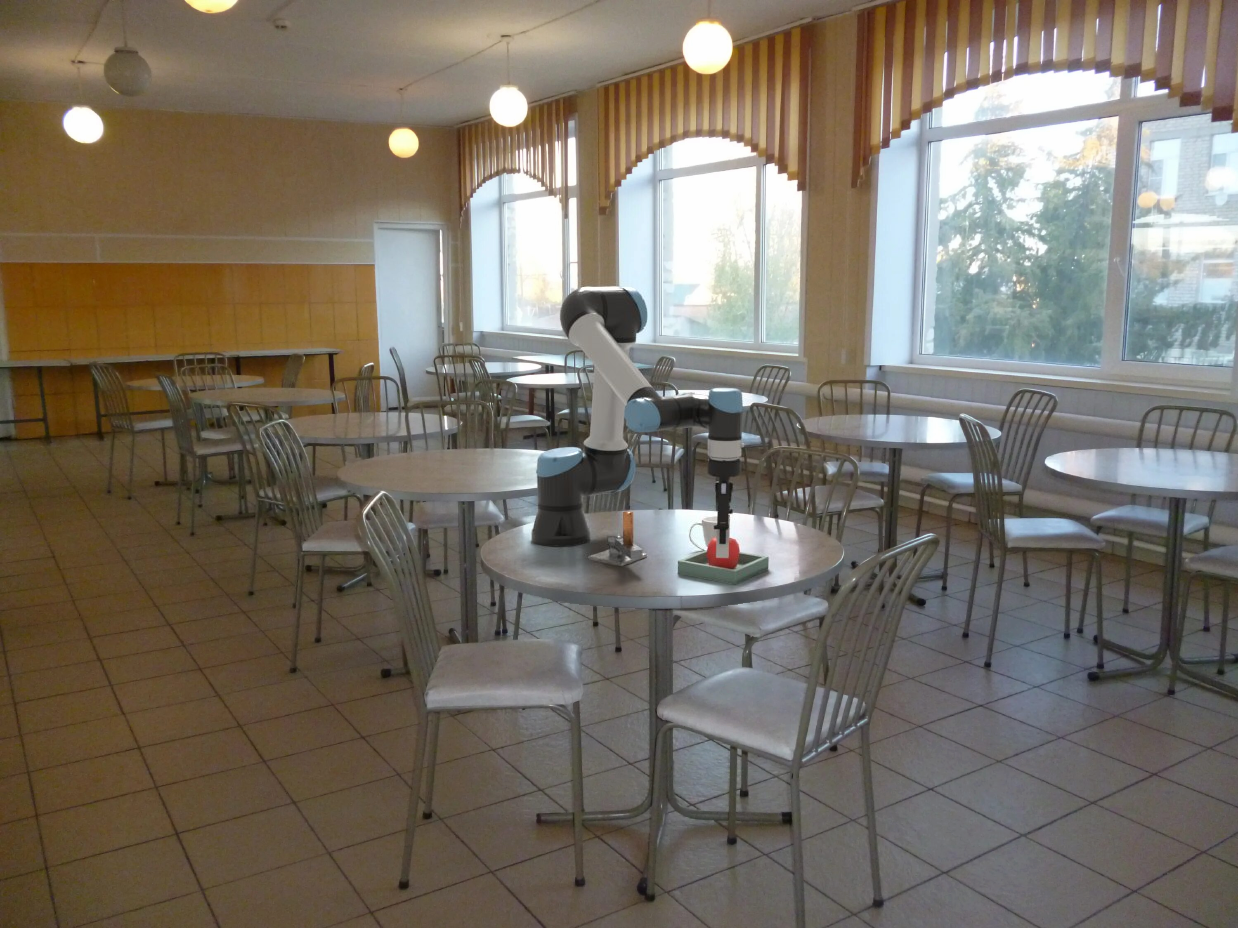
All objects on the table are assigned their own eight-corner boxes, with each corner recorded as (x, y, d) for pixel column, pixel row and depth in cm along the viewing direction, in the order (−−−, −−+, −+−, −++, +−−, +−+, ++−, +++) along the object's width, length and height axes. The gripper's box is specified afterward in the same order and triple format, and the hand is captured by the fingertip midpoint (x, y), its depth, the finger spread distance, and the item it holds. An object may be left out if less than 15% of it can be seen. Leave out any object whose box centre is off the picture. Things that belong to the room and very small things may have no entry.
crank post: (588, 559, 240) (588, 546, 239) (613, 550, 248) (613, 538, 247) (621, 566, 234) (621, 552, 233) (646, 557, 242) (646, 544, 241)
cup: (729, 554, 244) (730, 522, 242) (688, 554, 244) (688, 521, 243) (729, 547, 250) (730, 516, 249) (689, 546, 251) (689, 515, 250)
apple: (715, 561, 234) (715, 528, 233) (746, 566, 230) (747, 532, 229) (699, 569, 228) (699, 535, 226) (731, 574, 223) (731, 540, 222)
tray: (677, 573, 228) (677, 560, 227) (712, 559, 239) (712, 547, 239) (734, 584, 219) (735, 571, 218) (768, 569, 230) (768, 556, 230)
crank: (604, 542, 242) (604, 504, 240) (624, 540, 243) (624, 502, 242) (626, 559, 226) (626, 518, 225) (647, 557, 228) (647, 516, 226)
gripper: (741, 467, 212) (739, 564, 216) (741, 449, 236) (739, 536, 240) (705, 467, 213) (704, 563, 217) (709, 448, 237) (708, 535, 241)
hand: (722, 549), depth 228 cm, fingers open, 13 cm apart
